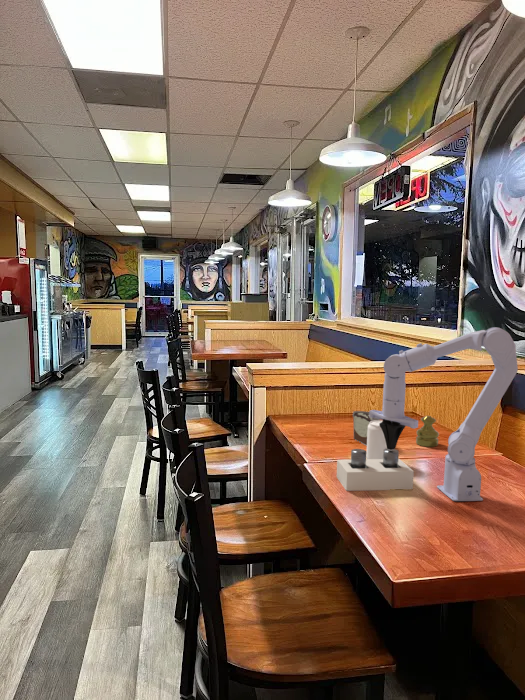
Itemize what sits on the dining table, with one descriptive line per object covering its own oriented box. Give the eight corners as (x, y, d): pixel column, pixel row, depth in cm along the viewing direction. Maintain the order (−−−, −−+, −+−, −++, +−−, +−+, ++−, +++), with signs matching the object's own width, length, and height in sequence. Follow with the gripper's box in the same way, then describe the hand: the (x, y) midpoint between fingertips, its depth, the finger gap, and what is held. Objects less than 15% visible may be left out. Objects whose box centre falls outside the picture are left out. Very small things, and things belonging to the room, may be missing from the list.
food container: (386, 446, 170) (387, 417, 169) (371, 448, 168) (372, 419, 167) (366, 436, 182) (367, 409, 181) (351, 438, 179) (352, 410, 178)
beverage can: (393, 458, 158) (395, 421, 156) (392, 466, 150) (394, 427, 148) (367, 455, 160) (368, 418, 158) (365, 463, 152) (367, 425, 151)
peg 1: (367, 469, 133) (368, 453, 133) (353, 469, 133) (353, 453, 132) (363, 464, 137) (363, 448, 137) (348, 464, 137) (349, 448, 136)
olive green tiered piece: (416, 446, 171) (418, 417, 170) (415, 440, 179) (416, 413, 177) (439, 448, 170) (440, 419, 169) (436, 442, 177) (438, 414, 176)
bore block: (412, 489, 132) (413, 471, 132) (346, 490, 130) (347, 472, 130) (398, 475, 142) (399, 458, 141) (336, 477, 140) (337, 459, 140)
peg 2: (400, 469, 134) (401, 453, 134) (385, 469, 134) (386, 453, 133) (394, 464, 138) (395, 448, 138) (380, 464, 138) (381, 448, 137)
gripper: (426, 402, 131) (423, 452, 132) (381, 393, 142) (378, 439, 144) (410, 405, 127) (407, 457, 128) (365, 395, 138) (362, 443, 139)
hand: (391, 448), depth 136 cm, fingers closed
